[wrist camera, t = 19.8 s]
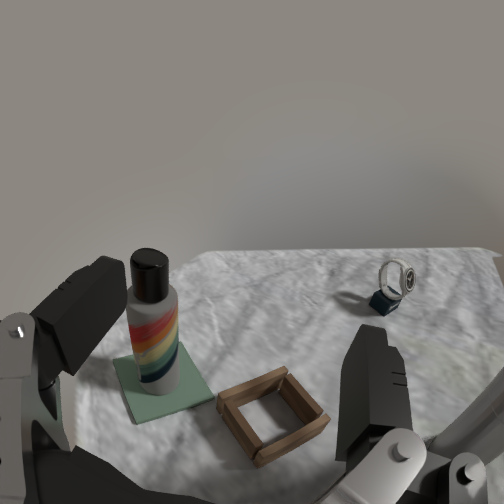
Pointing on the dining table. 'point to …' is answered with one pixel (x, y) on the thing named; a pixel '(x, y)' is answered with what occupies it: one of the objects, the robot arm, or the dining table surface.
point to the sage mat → (156, 406)
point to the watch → (387, 296)
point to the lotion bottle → (153, 322)
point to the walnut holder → (294, 398)
